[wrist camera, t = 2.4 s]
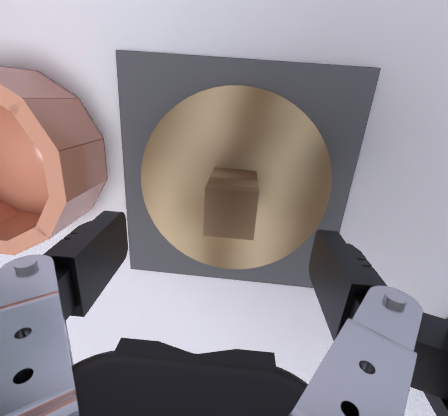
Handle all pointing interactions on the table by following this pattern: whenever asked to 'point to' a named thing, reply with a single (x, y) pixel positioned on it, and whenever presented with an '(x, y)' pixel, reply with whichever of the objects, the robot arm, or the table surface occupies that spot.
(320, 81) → the mat
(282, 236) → the lid
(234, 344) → the table surface
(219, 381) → the robot arm
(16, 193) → the bowl
